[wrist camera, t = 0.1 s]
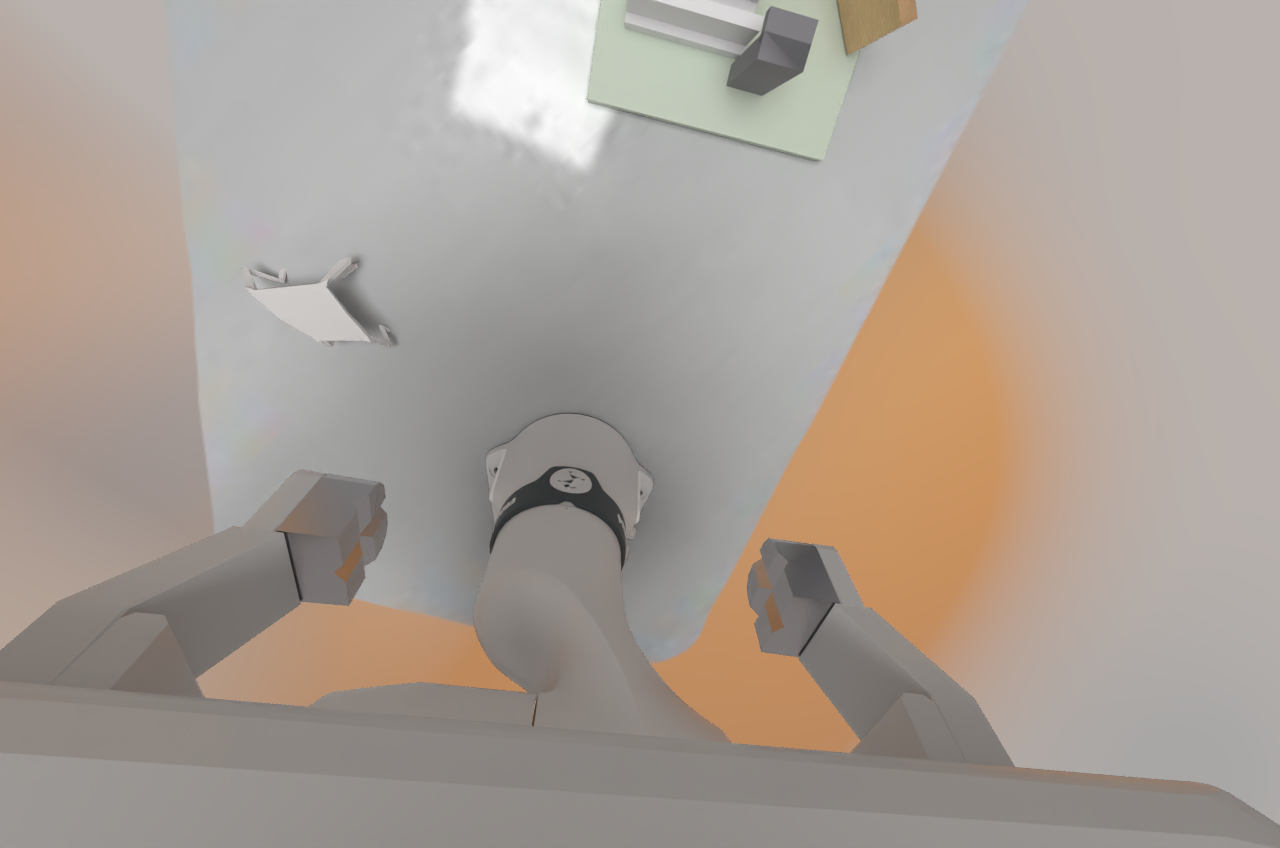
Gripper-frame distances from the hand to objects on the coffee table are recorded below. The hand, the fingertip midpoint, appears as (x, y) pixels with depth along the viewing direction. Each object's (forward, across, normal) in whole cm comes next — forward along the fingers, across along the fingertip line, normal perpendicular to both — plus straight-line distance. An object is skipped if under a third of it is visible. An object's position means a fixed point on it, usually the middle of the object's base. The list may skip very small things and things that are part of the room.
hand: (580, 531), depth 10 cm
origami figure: (+38, -25, -12) cm, 47 cm away
